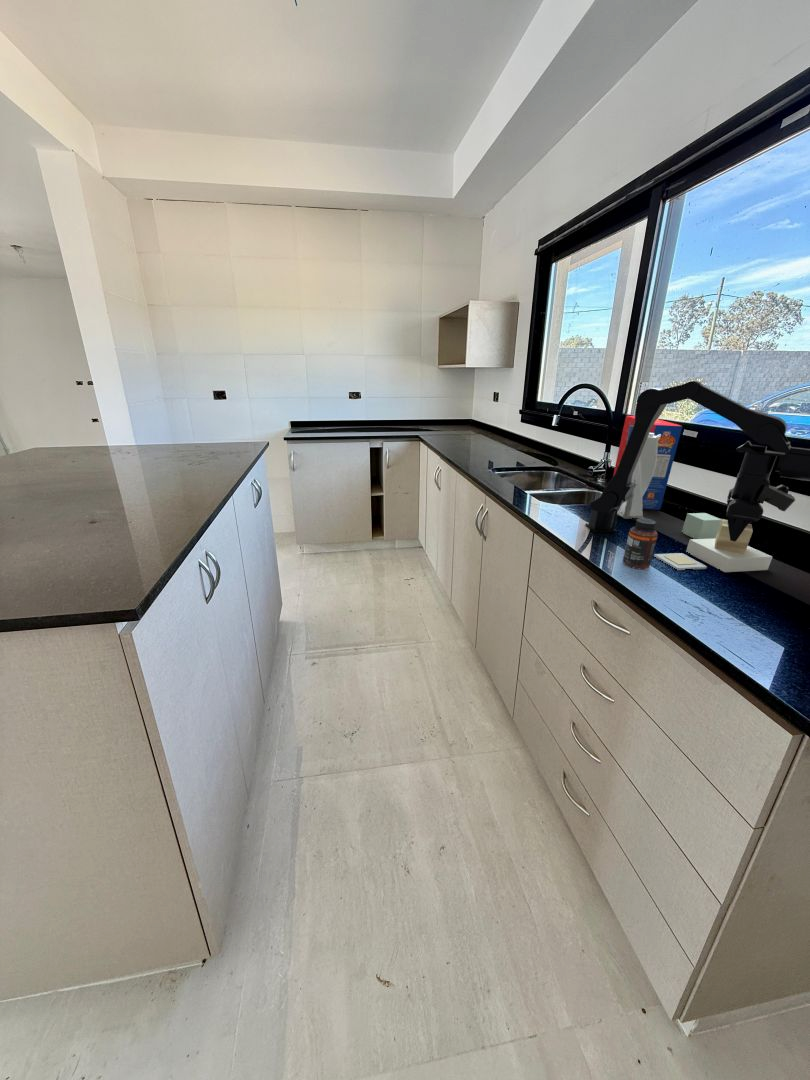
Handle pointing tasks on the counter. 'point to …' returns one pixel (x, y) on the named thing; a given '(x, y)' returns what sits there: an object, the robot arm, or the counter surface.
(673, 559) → the tile
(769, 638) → the counter surface
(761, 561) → the cream block
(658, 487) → the red and blue box
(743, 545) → the maple cube
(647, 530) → the supplement bottle
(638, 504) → the skyscraper
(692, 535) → the sage cube
